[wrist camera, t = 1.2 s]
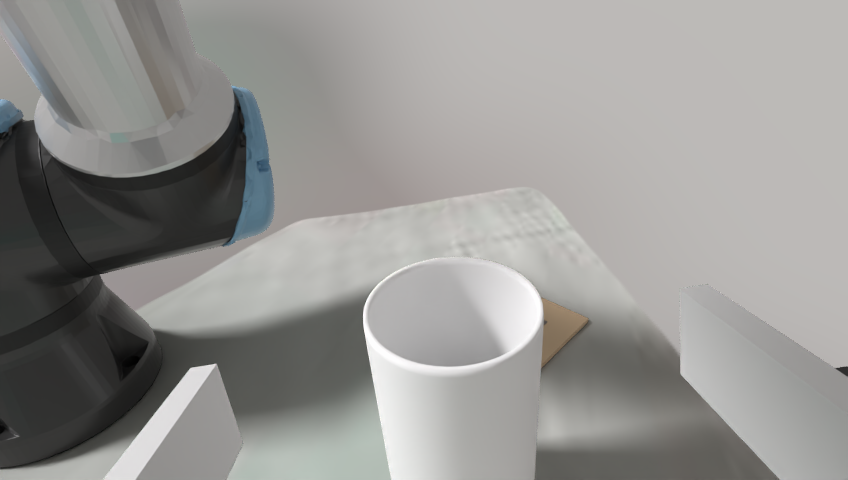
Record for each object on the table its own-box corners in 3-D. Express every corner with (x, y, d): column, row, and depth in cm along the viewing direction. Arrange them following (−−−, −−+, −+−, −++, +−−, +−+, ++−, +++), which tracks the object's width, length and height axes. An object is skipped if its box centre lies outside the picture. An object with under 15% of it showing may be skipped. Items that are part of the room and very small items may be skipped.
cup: (484, 616, 25) (477, 404, 17) (371, 522, 30) (324, 321, 22) (555, 494, 31) (575, 287, 23) (449, 430, 35) (435, 240, 27)
